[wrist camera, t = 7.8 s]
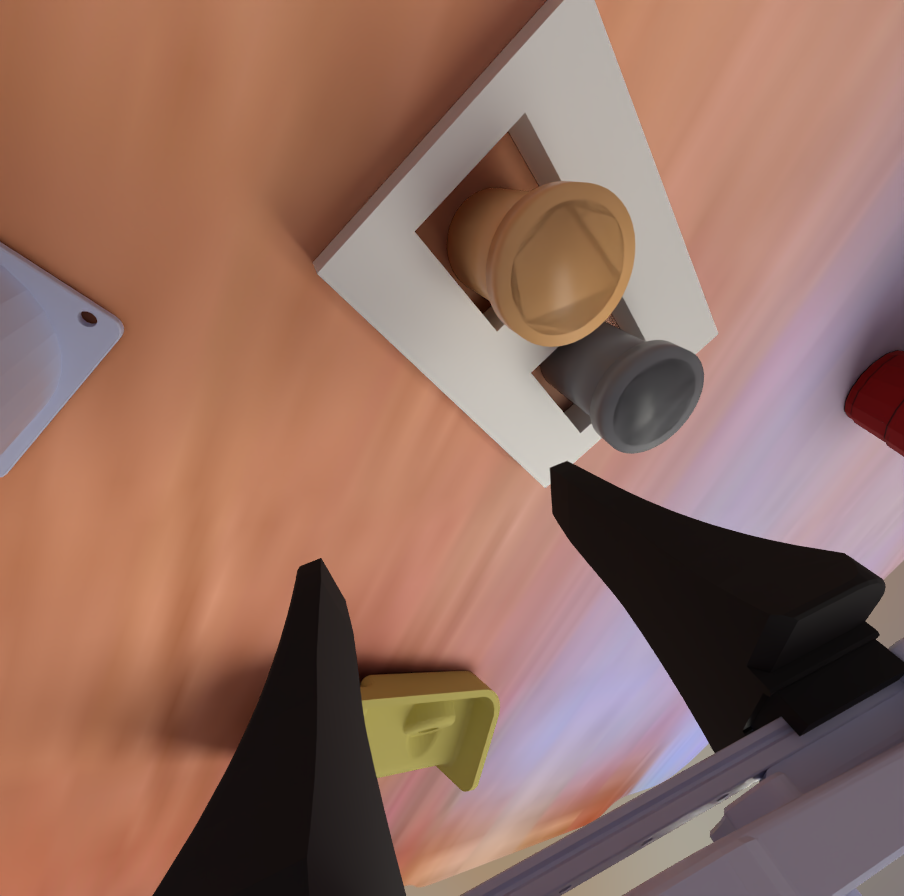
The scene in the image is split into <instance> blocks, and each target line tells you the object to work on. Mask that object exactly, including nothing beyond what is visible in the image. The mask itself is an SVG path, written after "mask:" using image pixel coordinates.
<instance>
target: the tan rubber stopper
mask: <svg viewBox="0 0 904 896" xmlns="http://www.w3.org/2000/svg"><path fill="white" fill-rule="evenodd" d="M447 253H448V258H449V262H450V265H451V267H452V270H453V272H454V273H455V275H456V276H457V278H458V279H459V280H460V281H461V282H462V283H463V284H464V285H466V286H467V287H469V288H470V289H472V290H473V291H475V292H476V293H478V294H480V295H481V296H483V297H484V298H486V299H487V300H489V301H490V303H491V305H492V308H493V310H494V311H495V313H496V315H497V316H498V318H499V319H500V320H501V321H502V322H503V323H504V324H505V325H506V326H507V327H508V328H509V329H511V330H512V331H514V332H515V333H516V334H518V335H519V336H521V337H522V338H524V339H525V340H527V341H529V342H531V343H533V344H536V345H540V346H546V347H556V346H563V345H567V344H570V343H573V342H576V341H578V340H580V339H582V338H584V337H585V336H587V335H589V334H590V333H592V332H593V331H594V330H595V329H597V328H598V327H599V326H600V325H601V324H602V323H603V322H604V321H605V320H606V319H607V318H608V317H609V315H610V314H611V313H612V312H613V310H614V309H615V307H616V306H617V305H618V303H619V301H620V299H621V298H622V296H623V294H624V292H625V290H626V287H627V285H628V282H629V280H630V277H631V273H632V269H633V265H634V258H635V233H634V228H633V224H632V220H631V217H630V215H629V213H628V211H627V209H626V207H625V206H624V204H623V203H622V201H621V200H620V199H619V198H618V197H617V196H616V195H615V194H614V193H613V192H611V191H610V190H608V189H607V188H605V187H602V186H600V185H597V184H593V183H586V182H573V181H557V182H551V183H548V184H544V185H542V186H539V187H537V188H535V189H533V190H532V191H530V192H529V191H521V190H513V189H505V188H487V189H484V190H481V191H479V192H476V193H475V194H473V195H472V196H470V197H469V198H468V199H467V200H466V201H464V203H463V204H462V205H461V206H460V207H459V209H458V210H457V212H456V213H455V215H454V217H453V219H452V222H451V224H450V228H449V232H448V238H447Z"/></svg>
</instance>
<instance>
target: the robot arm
mask: <svg viewBox="0 0 904 896" xmlns="http://www.w3.org/2000/svg"><path fill="white" fill-rule="evenodd" d="M82 311H87V312H90V313H92V314H93V315H94V316H95V317H96V319H97V323H96V324H91V323H89V322H86V321H85V320H84V319H83V318H82V315H81V312H82ZM123 333H124V326H123V324H122V322H121V320H119V319H118V318H117V317H116V316H115V315H113V314H112V313H110V312H108V311H107V310H105V309H104V308H102V307H101V306H99V305H98V304H96V303H94V302H93V301H91V300H90V299H88V298H87V297H85V296H84V295H82V294H81V293H79V292H77V291H76V290H74V289H73V288H71V287H70V286H68V285H67V284H65V283H63V282H62V281H60V280H59V279H57V278H56V277H54V276H53V275H51V274H49V273H48V272H46V271H45V270H43V269H42V268H40V267H39V266H37V265H35V264H34V263H32V262H31V261H29V260H28V259H26V258H25V257H23V256H22V255H20V254H18V253H17V252H15V251H14V250H12V249H11V248H9V247H8V246H6V245H4V244H3V243H1V242H0V477H3V476H5V475H6V474H7V473H8V472H9V471H10V470H11V468H12V467H13V466H14V465H15V464H16V462H17V461H18V460H19V459H20V458H21V456H22V455H23V454H24V453H25V452H26V450H27V449H28V448H29V447H30V446H31V444H32V443H33V442H34V441H35V440H36V438H37V437H38V436H39V435H40V434H41V432H42V431H43V430H44V429H45V428H46V426H47V425H48V424H49V423H50V422H51V420H52V419H53V418H54V417H55V416H56V414H57V413H58V412H59V411H60V410H61V408H62V407H63V406H64V405H65V404H66V402H67V401H68V400H69V399H70V398H71V396H72V395H73V394H74V393H75V392H76V390H77V389H78V388H79V387H80V386H81V384H82V383H83V382H84V381H85V380H86V379H87V377H88V376H89V375H90V374H91V373H92V371H93V370H94V369H95V368H96V367H97V365H98V364H99V363H100V362H101V361H102V359H103V358H104V357H105V356H106V355H107V353H108V352H109V351H110V350H111V349H112V347H113V346H114V345H115V344H116V343H117V341H118V340H119V339H120V338H121V337H122V335H123ZM550 482H551V497H552V513H553V515H554V517H555V519H556V520H557V522H558V524H559V525H560V527H561V528H562V530H563V531H564V533H565V534H566V536H567V537H568V539H569V541H570V542H571V543H572V544H573V546H574V547H575V548H576V549H577V550H578V552H579V553H580V554H581V555H582V556H583V558H584V559H585V560H586V561H587V563H588V564H589V565H590V566H591V567H592V568H593V570H594V571H595V572H596V573H597V574H598V576H599V577H600V578H601V579H602V580H603V582H604V583H605V584H606V585H607V586H608V588H609V589H610V590H611V591H612V592H613V594H614V595H615V596H616V597H617V599H618V600H619V601H620V603H621V604H622V605H623V606H624V608H625V609H626V611H627V612H628V614H629V615H630V617H631V618H632V619H633V621H634V622H635V624H636V625H637V627H638V628H639V630H640V631H641V633H642V634H643V636H644V637H645V639H646V640H647V642H648V643H649V645H650V646H651V648H652V649H653V651H654V653H655V654H656V656H657V657H658V659H659V660H660V662H661V663H662V665H663V666H664V668H665V670H666V671H667V673H668V675H669V676H670V678H671V679H672V681H673V683H674V684H675V686H676V688H677V689H678V691H679V692H680V694H681V696H682V697H683V699H684V701H685V702H686V704H687V706H688V708H689V709H690V711H691V713H692V714H693V716H694V718H695V720H696V721H697V723H698V725H699V726H700V728H701V730H702V731H703V733H704V735H705V737H706V739H707V740H708V742H709V744H710V746H711V747H712V749H713V751H714V752H715V754H713V755H711V756H709V757H708V758H706V759H704V760H702V761H700V762H699V763H697V764H695V765H693V766H691V767H690V768H688V769H686V770H684V771H682V772H681V773H679V774H677V775H675V776H674V777H672V778H670V779H668V780H666V781H665V782H663V783H661V784H659V785H657V786H656V787H654V788H652V789H650V790H649V791H647V792H645V793H643V794H641V795H639V796H638V797H636V798H634V799H632V800H630V801H629V802H627V803H625V804H623V805H621V806H620V807H618V808H616V809H614V810H612V811H611V812H609V813H607V814H605V815H603V816H602V817H600V818H598V819H596V820H594V821H593V822H591V823H589V824H587V825H585V826H584V827H582V828H580V829H578V830H577V831H575V832H573V833H571V834H569V835H568V836H566V837H564V838H562V839H560V840H559V841H557V842H555V843H553V844H551V845H550V846H548V847H546V848H544V849H542V850H541V851H539V852H537V853H535V854H534V855H532V856H530V857H528V858H527V859H524V860H523V861H521V862H519V863H517V864H515V865H514V866H512V867H510V868H508V869H506V870H505V871H503V872H501V873H500V874H497V875H496V876H494V877H492V878H490V879H489V880H487V881H485V882H483V883H481V884H480V885H478V886H476V887H475V888H472V889H471V890H469V891H467V892H465V893H463V894H462V895H460V896H561V895H562V894H564V893H566V892H568V891H569V890H571V889H573V888H575V887H576V886H578V885H580V884H581V883H583V882H585V881H587V880H588V879H590V878H592V877H593V876H595V875H597V874H599V873H600V872H602V871H604V870H605V869H607V868H609V867H611V866H612V865H614V864H616V863H618V862H619V861H621V860H623V859H624V858H626V857H628V856H630V855H631V854H633V853H635V852H636V851H638V850H640V849H642V848H643V847H645V846H646V845H648V844H650V843H652V842H654V841H655V840H657V839H659V838H661V837H662V836H664V835H666V834H667V833H669V832H671V831H673V830H674V829H676V828H678V827H679V826H681V825H683V824H684V823H686V822H688V821H690V820H691V819H693V818H695V817H697V816H698V815H700V814H702V813H703V812H705V811H707V810H709V809H711V808H712V807H714V806H716V805H717V804H719V803H721V802H722V801H724V800H726V799H728V798H729V797H731V796H733V795H735V794H736V793H738V792H740V791H741V790H743V789H745V788H747V787H748V786H750V785H752V784H753V783H755V782H757V781H759V780H760V781H759V783H758V784H757V785H755V786H754V787H753V788H751V789H750V790H749V791H747V792H746V793H745V794H743V795H742V796H741V797H739V798H738V799H736V800H735V801H733V802H732V803H731V804H729V805H728V806H727V807H725V808H724V816H723V817H722V819H721V821H720V822H719V823H718V824H717V825H716V826H715V827H714V828H713V829H712V830H711V831H710V837H711V839H712V840H713V842H714V843H712V844H710V845H708V846H706V847H705V848H703V849H701V850H699V851H697V852H695V853H693V854H692V855H690V856H688V857H686V858H685V859H683V860H681V861H679V862H678V863H676V864H674V865H673V866H671V867H669V868H667V869H666V870H664V871H662V872H660V873H659V874H657V875H655V876H654V877H652V878H650V879H649V880H647V881H645V882H644V883H642V884H640V885H639V886H637V887H636V888H634V889H632V890H631V891H629V892H627V893H626V894H624V895H622V896H862V895H861V894H860V893H859V891H858V890H857V889H856V887H857V886H859V885H860V884H862V883H863V882H865V881H866V880H868V879H869V878H870V877H872V876H873V875H875V874H876V873H878V872H879V871H880V870H882V869H883V868H885V867H886V866H887V865H889V864H890V863H892V862H893V861H895V860H896V859H897V858H899V857H900V856H902V855H903V854H904V638H902V639H901V640H899V641H897V642H896V643H895V644H893V645H892V646H891V647H890V648H889V649H887V648H886V647H885V646H883V645H882V644H881V643H880V642H878V641H877V640H876V638H878V636H879V633H878V631H877V630H876V629H874V628H873V627H872V626H870V625H869V624H868V623H867V622H865V621H866V619H867V618H868V616H869V615H870V614H871V612H872V611H873V609H874V608H875V606H876V605H877V604H878V602H879V601H880V599H881V597H882V596H883V594H884V591H885V583H884V581H883V579H882V578H880V577H879V576H877V575H876V574H874V573H873V572H871V571H870V570H868V569H867V568H866V567H864V566H863V565H861V564H860V563H858V562H857V561H855V560H854V559H852V558H851V557H849V556H848V555H846V554H845V553H840V552H834V551H827V550H821V549H815V548H809V547H803V546H797V545H792V544H787V543H782V542H777V541H773V540H768V539H763V538H759V537H755V536H751V535H747V534H743V533H739V532H736V531H732V530H729V529H725V528H721V527H718V526H715V525H711V524H708V523H705V522H702V521H699V520H696V519H693V518H690V517H688V516H685V515H682V514H679V513H676V512H674V511H671V510H668V509H666V508H664V507H661V506H659V505H656V504H654V503H652V502H649V501H647V500H645V499H642V498H640V497H638V496H636V495H634V494H631V493H629V492H627V491H625V490H623V489H621V488H619V487H617V486H615V485H613V484H611V483H609V482H607V481H605V480H603V479H601V478H599V477H597V476H595V475H593V474H592V473H590V472H588V471H586V470H584V469H582V468H580V467H578V466H576V465H574V464H572V463H570V462H569V461H565V462H563V463H560V464H558V465H555V466H553V467H550ZM153 896H406V893H405V889H404V885H403V882H402V878H401V874H400V870H399V866H398V862H397V859H396V855H395V851H394V847H393V843H392V839H391V835H390V831H389V827H388V823H387V819H386V815H385V811H384V806H383V802H382V798H381V794H380V789H379V785H378V781H377V776H376V772H375V768H374V763H373V759H372V754H371V750H370V745H369V741H368V736H367V732H366V726H365V720H364V714H363V706H362V698H361V690H360V682H359V673H358V665H357V657H356V649H355V641H354V634H353V629H352V625H351V621H350V617H349V613H348V609H347V605H346V601H345V599H344V597H343V595H342V593H341V592H340V590H339V588H338V587H337V585H336V583H335V581H334V580H333V578H332V576H331V574H330V573H329V571H328V569H327V567H326V566H325V564H324V562H323V560H322V559H321V558H320V559H317V560H315V561H312V562H310V563H307V564H305V565H302V566H300V567H299V569H298V570H297V576H296V581H295V585H294V590H293V594H292V599H291V603H290V607H289V611H288V615H287V618H286V622H285V625H284V629H283V632H282V635H281V639H280V642H279V645H278V649H277V651H276V654H275V657H274V660H273V663H272V666H271V669H270V672H269V675H268V678H267V680H266V683H265V686H264V688H263V691H262V693H261V696H260V698H259V701H258V703H257V706H256V708H255V710H254V713H253V715H252V717H251V720H250V722H249V724H248V726H247V728H246V730H245V733H244V735H243V737H242V739H241V741H240V743H239V745H238V748H237V750H236V752H235V754H234V756H233V758H232V760H231V762H230V764H229V766H228V768H227V770H226V772H225V774H224V775H223V777H222V779H221V781H220V783H219V785H218V786H217V788H216V790H215V792H214V794H213V795H212V797H211V799H210V801H209V803H208V805H207V806H206V808H205V810H204V812H203V814H202V816H201V817H200V819H199V821H198V823H197V824H196V826H195V828H194V829H193V831H192V833H191V834H190V836H189V838H188V839H187V841H186V843H185V844H184V846H183V847H182V849H181V851H180V852H179V854H178V855H177V857H176V859H175V860H174V862H173V864H172V865H171V867H170V868H169V870H168V872H167V873H166V875H165V877H164V878H163V880H162V881H161V883H160V885H159V886H158V888H157V889H156V891H155V892H154V894H153Z"/></svg>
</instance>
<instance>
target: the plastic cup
mask: <svg viewBox="0 0 904 896" xmlns="http://www.w3.org/2000/svg"><path fill="white" fill-rule="evenodd" d="M845 412H846V414H847V416H848V417H849V418H851V419H853V421H854V422H855V423H856V424H858V425H859V426H861V427H862V428H864V429H865V430H867V431H868V432H870V433H872V434H873V435H875V436H876V437H878V438H879V439H881V440H882V441H884V442H886V444H887V446H889V447H890V448H892V449H893V450H895V451H896V452H898V453H899V454H901V455H902V456H904V351H900V350H897V351H894V352H891V353H888V354H886V355H885V356H883V357H882V358H880V359H879V360H877V361H876V362H874V363H873V364H872V365H871V366H870V367H869V368H868V369H867V370H866V371H865V372H864V373H863V374H862V375H861V376H860V378H859V379H858V380H857V382H856V383H855V385H854V386H853V387H852V389H851V391H850V393H849V395H848V397H847V399H846V403H845Z"/></svg>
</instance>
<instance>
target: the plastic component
mask: <svg viewBox="0 0 904 896" xmlns="http://www.w3.org/2000/svg"><path fill="white" fill-rule="evenodd" d="M360 690H361V698H362V706H363V714H364V720H365V726H366V732H367V736H368V741H369V745H370V750H371V754H372V759H373V763H374V768H375V772H376V776H377V778H380V777H384V776H389V775H394V774H398V773H403V772H408V771H412V770H417V769H422V768H427V767H431V766H437V767H438V768H439V769H440V770H441V771H442V772H443V773H444V774H445V775H446V776H447V777H448V778H449V779H450V780H451V781H452V782H453V783H454V784H456V785H457V786H458V787H459V788H460V789H461V790H462V791H464V792H465V791H470V790H474V789H475V788H476V787H477V786H478V783H479V779H480V776H481V773H482V769H483V766H484V763H485V759H486V756H487V753H488V749H489V746H490V743H491V739H492V736H493V733H494V729H495V726H496V723H497V719H498V716H499V710H500V703H499V699H498V696H497V695H496V693H495V692H494V691H492V690H491V689H490V688H489V687H488V686H487V685H486V684H485V683H483V682H482V681H481V680H480V679H479V678H478V677H477V676H475V675H474V674H473V673H471V672H469V671H444V672H423V673H403V674H382V675H369V676H366V677H365V678H364V679H363V680H362V682H361V685H360Z"/></svg>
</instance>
